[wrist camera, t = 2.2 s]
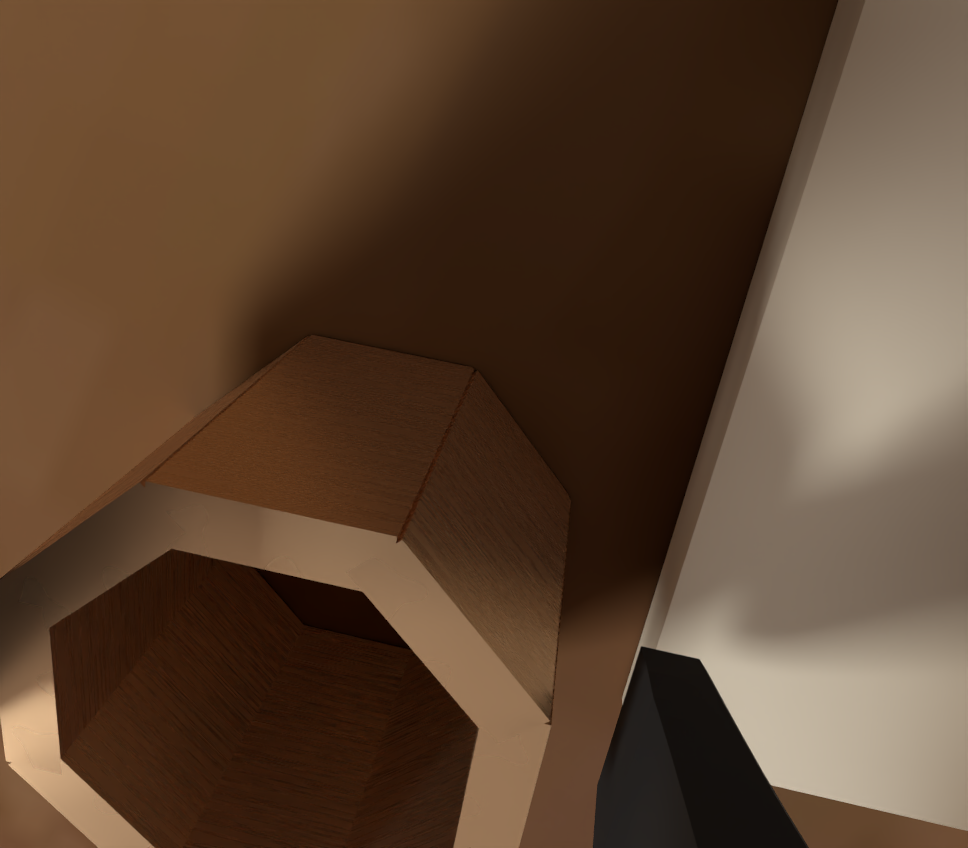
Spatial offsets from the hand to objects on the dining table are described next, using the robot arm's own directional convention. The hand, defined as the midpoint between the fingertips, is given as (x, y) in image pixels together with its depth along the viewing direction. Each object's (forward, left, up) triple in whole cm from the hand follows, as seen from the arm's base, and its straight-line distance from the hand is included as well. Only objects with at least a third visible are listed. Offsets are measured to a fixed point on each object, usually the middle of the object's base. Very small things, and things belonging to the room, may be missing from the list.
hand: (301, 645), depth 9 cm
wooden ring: (0, 0, -3) cm, 3 cm away
